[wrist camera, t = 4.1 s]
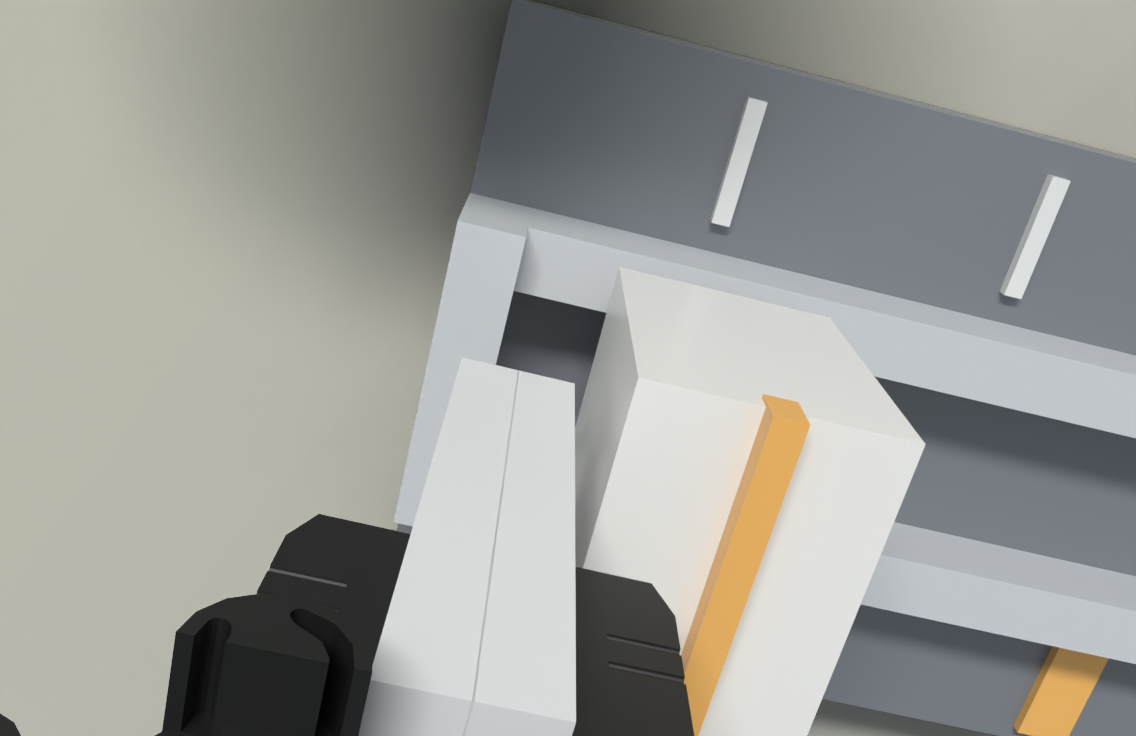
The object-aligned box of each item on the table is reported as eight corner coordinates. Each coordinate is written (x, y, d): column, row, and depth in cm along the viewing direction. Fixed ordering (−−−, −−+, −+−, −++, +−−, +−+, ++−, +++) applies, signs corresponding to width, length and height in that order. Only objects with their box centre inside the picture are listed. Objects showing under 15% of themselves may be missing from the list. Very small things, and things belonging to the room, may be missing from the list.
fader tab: (543, 503, 18) (531, 760, 12) (615, 236, 17) (641, 385, 11) (719, 542, 18) (790, 812, 13) (806, 284, 17) (938, 454, 11)
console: (397, 551, 21) (360, 674, 18) (517, -3, 18) (503, 3, 14) (1205, 723, 23) (1330, 870, 19) (1478, 248, 19) (1700, 316, 15)
